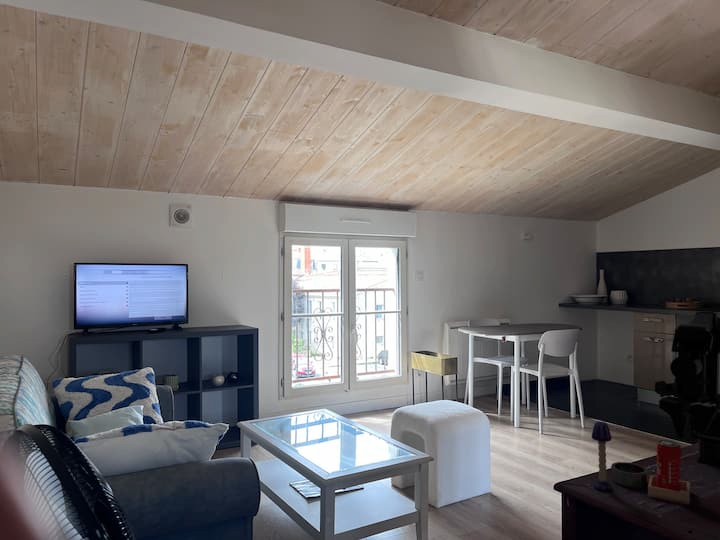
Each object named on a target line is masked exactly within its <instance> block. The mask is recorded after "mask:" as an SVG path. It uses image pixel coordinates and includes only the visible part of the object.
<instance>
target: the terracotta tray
mask: <svg viewBox="0 0 720 540" xmlns="http://www.w3.org/2000/svg"><path fill="white" fill-rule="evenodd" d="M690 485H691V482H690V481H686V480H682V479H681V490H680V491H674V490H669V489H664V488H658V487H657V475H653V474H650V475H649V480H648V483H647V497H649V498H653V499H658V500H663V501H668V502H674V503H678V504H684V505H691V504H690V503H691V501H690V499H691V498H690Z"/></svg>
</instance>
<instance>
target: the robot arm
mask: <svg viewBox="0 0 720 540" xmlns="http://www.w3.org/2000/svg"><path fill="white" fill-rule="evenodd" d="M694 315H695V316H694V317H693V318H692V320H690V322H689V323H681V324H678V326H677V327H676V328H675V330H674V335H673V339H672V344H671V345H672V347H671V352H672V353H678V354H677V357H676V358H674V359H673V360H672V361H671V363H670V364H669V365H670V366H669V367H670V368H669V369H670V372H671V374H672V375H673V376H674V377H675V378H674V382H669V383H667V382H666V381H665V380H660V381H659V380H658V381H655V383H654V392H655V393H656V394H657V395H659V397H660V399H659V400H658V409H659V410H660V409H661V410H662V411H663V412H664V413H666V414H668V416H669V417H670V418H671V420H672V424H673V426H674V429H675V431H676V432H675V433H676V434H677V437H678V438H680V439H683V438H684V437H685V434H686V431H687V429H688V426H689V421H690V432H691V438H692V439H696V440H697V442H698V443H697V444H698V445H697V446H698V447H697V448H698V451H697V453H696V462H698V463H702V464H703V463H705V464H711V465H716V466H720V393H719V390H720V389H719V386H720V385H719V384H720V381H719V380H720V317H719V315H718V313H717V312H715V311H704V310H703V311H701V310H699V311H695V314H694ZM692 406H694V407H695V408H696V409H695V410H694V411H693V415H692V413H691V412H690V411H691V410H692Z"/></svg>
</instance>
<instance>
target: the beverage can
mask: <svg viewBox="0 0 720 540" xmlns="http://www.w3.org/2000/svg"><path fill="white" fill-rule="evenodd" d="M656 476H657V487H658V488H664V489H669V490H674V491H680V490H681V480H682V447H681V444H680V443H679V442H677V441H673V440H666V439H661V440H658V441H657V444H656Z"/></svg>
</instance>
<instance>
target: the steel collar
mask: <svg viewBox="0 0 720 540" xmlns="http://www.w3.org/2000/svg"><path fill="white" fill-rule="evenodd" d="M648 470H649V469H648V468H646V467H645V466H643V465H640V464H637V463H633V462H626V461H624V462H623V461H617V462H613V463H612V464H611V466H610V479H611V481H612V482H614V483H615V484H617V485H619V486H622V487H627V488H628V487H629V488H633V489H634V488H637V489H639V488H640V489H641V488H642V489H643V488H645V487H648V484H649V480H648V478H649V476H648Z"/></svg>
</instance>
